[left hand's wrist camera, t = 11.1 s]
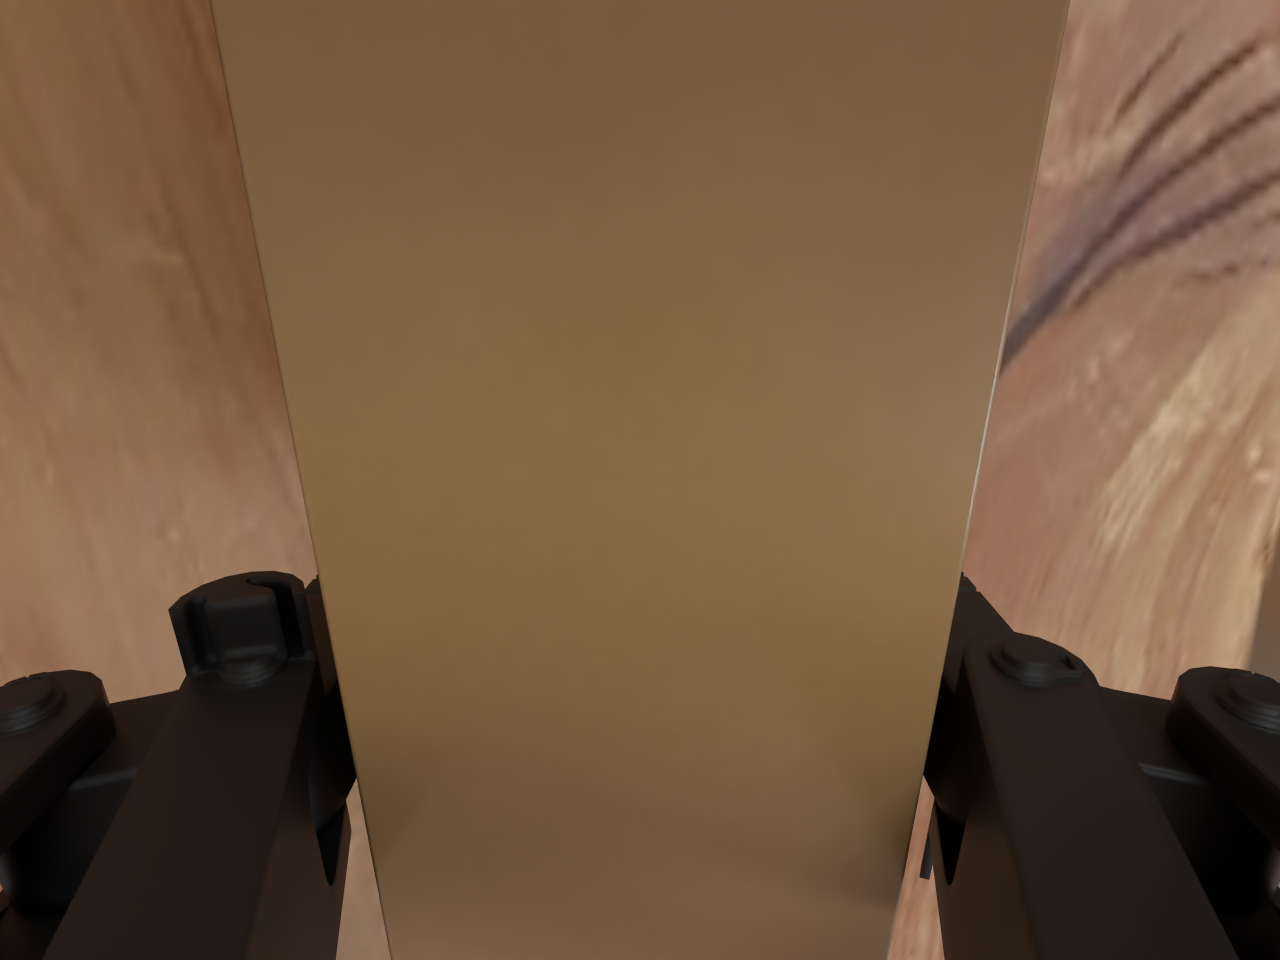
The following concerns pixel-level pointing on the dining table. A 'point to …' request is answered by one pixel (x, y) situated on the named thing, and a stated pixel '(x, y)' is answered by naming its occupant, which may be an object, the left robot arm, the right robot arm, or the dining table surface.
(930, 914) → the dining table surface
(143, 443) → the dining table surface
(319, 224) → the post
